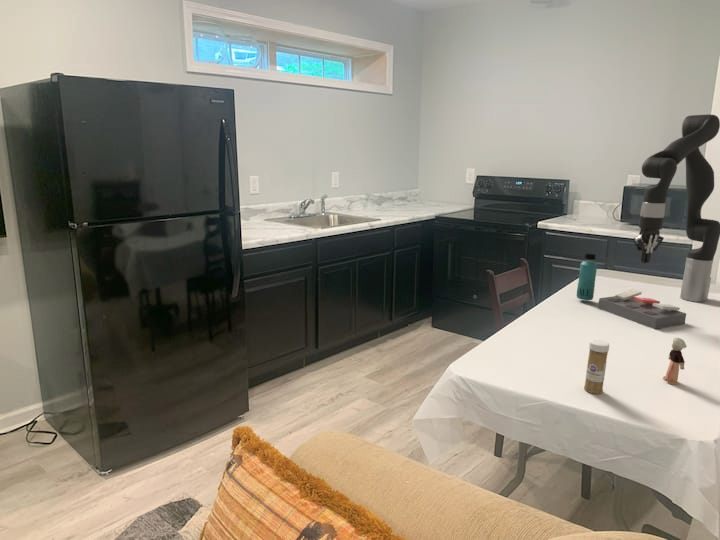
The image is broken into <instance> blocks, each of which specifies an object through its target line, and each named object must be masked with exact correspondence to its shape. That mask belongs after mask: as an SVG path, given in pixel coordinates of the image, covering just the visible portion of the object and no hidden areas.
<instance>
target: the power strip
mask: <svg viewBox="0 0 720 540" xmlns="http://www.w3.org/2000/svg"><path fill="white" fill-rule="evenodd" d="M598 299H599V300H598V308H597V309H599V310H601V311H604V310H605V311H604V312H608V313H610V314H612V313H613V314H612V315H615V316H617V317H621V318H623V319H626V320H629V321H631V322H635V323H637V324H640V325H642V326H645V327H648V328H650V329H653V330H659V329H665V328H670V327H671V328H672V327H675V326H681V325H685V324H686V318H687V312H682V311H680V310H671V311H667V310H664V309H661V308H658V307H655V306H652V305H653V303H652V304H651V305H649V304H646V303H643V302H640V301H637V300H634V298H633V299H627V300H621V299H618V298H615V295H614V296H613V295H612V296H608V297H607V296H606V297H600V298H598Z"/></svg>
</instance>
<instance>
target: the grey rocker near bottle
mask: <svg viewBox="0 0 720 540" xmlns="http://www.w3.org/2000/svg"><path fill="white" fill-rule="evenodd" d="M640 295H642V291H639V290H637V289H633V288H632V289H630V290H627V291H623V292H620V293H618V294H615V295H614V296H615V298H618V299H621V300H627V299H633V298H634V297H639V296H640Z"/></svg>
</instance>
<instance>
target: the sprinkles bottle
mask: <svg viewBox="0 0 720 540" xmlns="http://www.w3.org/2000/svg"><path fill="white" fill-rule="evenodd" d="M588 348H589V353H588V358H587V366H586V371H585V382H584V387H583V388H584V390H585V391H586V392H588V393H591V394H593V395H598V394H602V393H603V388H604V381H605V375H606V369H607V358H608V353H609V351H610V343H609V342H607V341H605V340H602V339H592V340H590V341H589V347H588Z"/></svg>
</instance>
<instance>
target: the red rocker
mask: <svg viewBox="0 0 720 540" xmlns="http://www.w3.org/2000/svg"><path fill="white" fill-rule="evenodd" d="M634 300H637V301H640V302H643V303H646V304H649V305H651V304H652V303H658V304H661V303H660V302H661V301H659V300H658V299H657V300H656V299H653V298H650V297H640V296H635V297H634Z"/></svg>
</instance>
